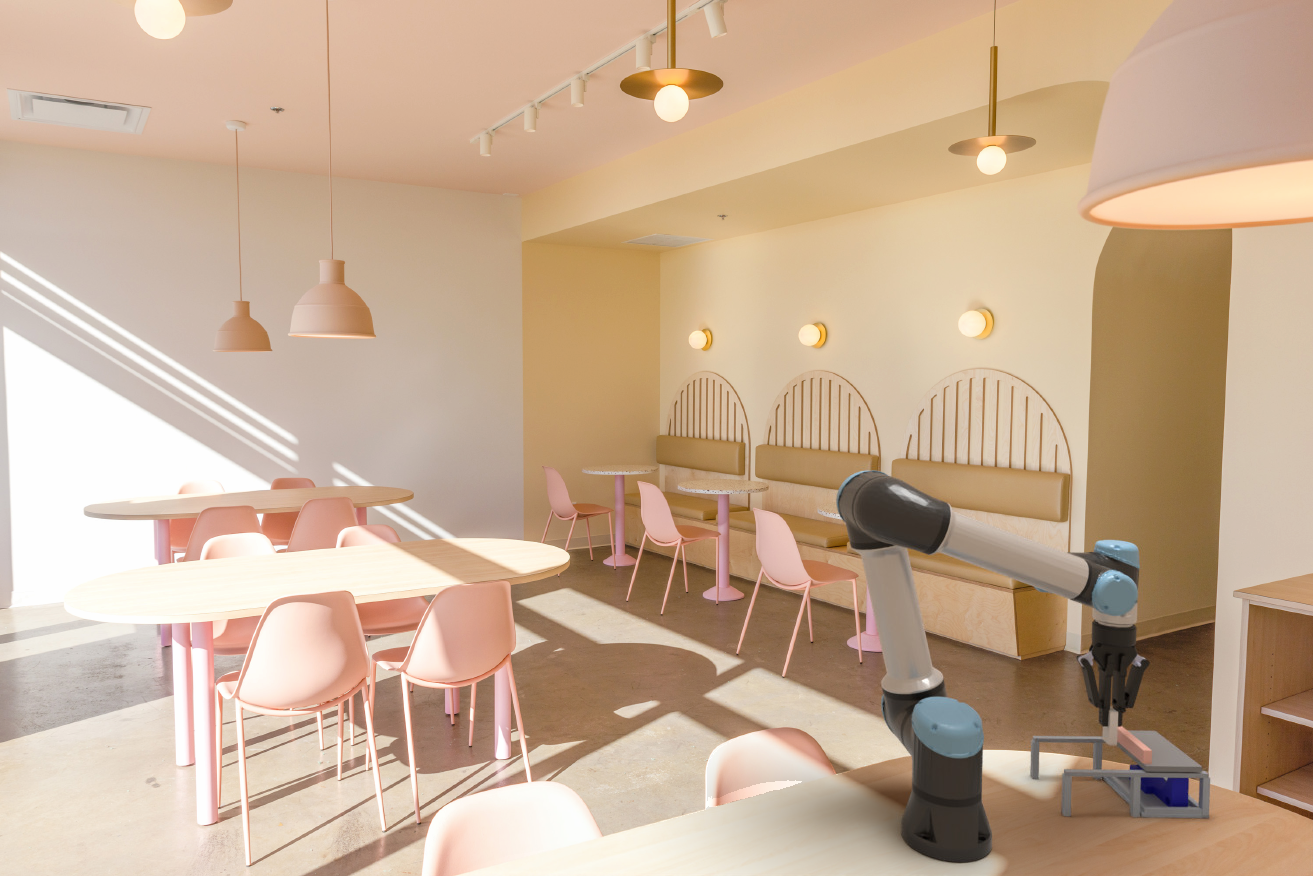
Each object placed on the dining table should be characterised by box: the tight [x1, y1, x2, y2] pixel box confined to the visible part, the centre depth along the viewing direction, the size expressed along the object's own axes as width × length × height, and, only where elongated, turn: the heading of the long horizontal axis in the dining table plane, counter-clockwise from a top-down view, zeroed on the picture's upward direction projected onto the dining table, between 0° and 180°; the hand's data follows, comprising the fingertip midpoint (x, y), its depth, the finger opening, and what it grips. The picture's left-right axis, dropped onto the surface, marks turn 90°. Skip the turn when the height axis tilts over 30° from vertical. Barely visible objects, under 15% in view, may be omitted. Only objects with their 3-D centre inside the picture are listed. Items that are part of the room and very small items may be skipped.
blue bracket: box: [1129, 763, 1190, 807], centre depth 164 cm, size 12×4×6 cm, turn 178°
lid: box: [1115, 726, 1203, 772], centre depth 163 cm, size 10×16×4 cm, turn 177°
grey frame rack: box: [1029, 735, 1211, 819], centre depth 164 cm, size 26×16×8 cm, turn 87°
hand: (1109, 742), depth 164 cm, fingers closed
